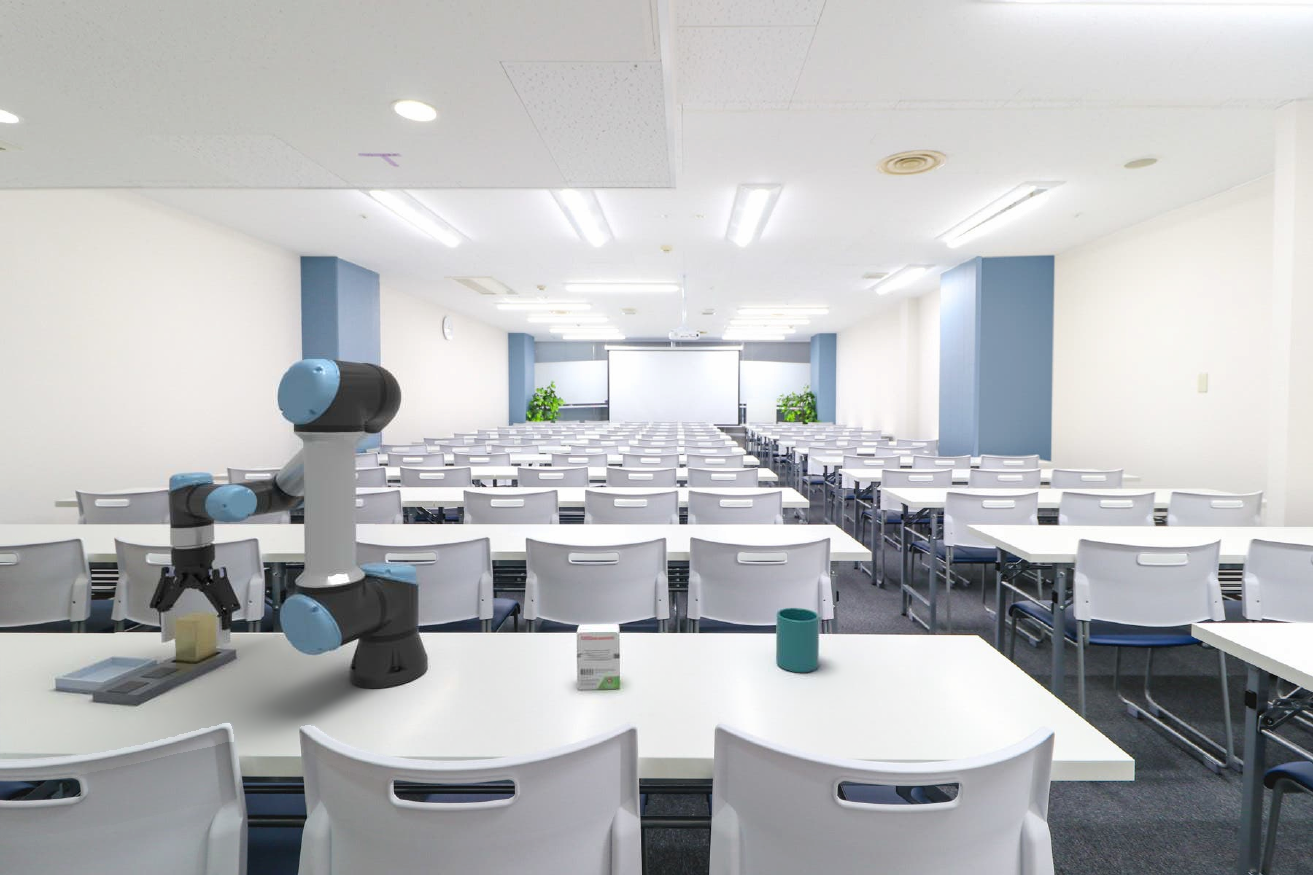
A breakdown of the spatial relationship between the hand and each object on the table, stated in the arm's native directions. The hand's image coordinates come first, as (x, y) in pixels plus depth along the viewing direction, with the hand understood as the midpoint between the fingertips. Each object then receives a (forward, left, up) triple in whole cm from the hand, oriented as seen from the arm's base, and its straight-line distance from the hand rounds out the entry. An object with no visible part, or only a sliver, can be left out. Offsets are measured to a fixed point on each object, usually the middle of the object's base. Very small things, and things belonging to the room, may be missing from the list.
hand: (196, 642), depth 131 cm
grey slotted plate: (0, +6, -5) cm, 8 cm away
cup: (-128, -24, -6) cm, 130 cm away
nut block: (0, 0, -5) cm, 5 cm away
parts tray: (+11, +9, -5) cm, 16 cm away
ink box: (-88, -6, -6) cm, 88 cm away
